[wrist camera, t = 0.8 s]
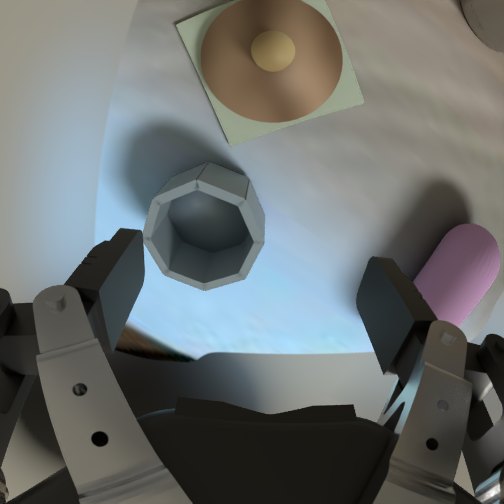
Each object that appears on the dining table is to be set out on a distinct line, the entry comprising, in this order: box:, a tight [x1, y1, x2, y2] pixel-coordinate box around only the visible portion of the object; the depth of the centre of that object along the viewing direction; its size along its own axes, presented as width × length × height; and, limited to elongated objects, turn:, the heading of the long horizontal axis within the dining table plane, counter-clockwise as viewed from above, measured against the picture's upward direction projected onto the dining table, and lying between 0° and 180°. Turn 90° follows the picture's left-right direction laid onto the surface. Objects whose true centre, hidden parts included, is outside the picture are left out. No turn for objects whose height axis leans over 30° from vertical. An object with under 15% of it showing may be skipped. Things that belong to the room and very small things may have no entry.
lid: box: [201, 0, 343, 123], centre depth 20 cm, size 12×12×6 cm
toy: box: [413, 224, 500, 327], centre depth 31 cm, size 8×9×20 cm
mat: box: [176, 0, 364, 147], centre depth 23 cm, size 13×13×1 cm
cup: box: [143, 162, 265, 291], centre depth 29 cm, size 10×10×6 cm
